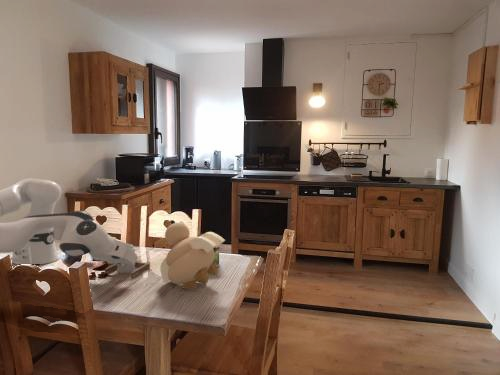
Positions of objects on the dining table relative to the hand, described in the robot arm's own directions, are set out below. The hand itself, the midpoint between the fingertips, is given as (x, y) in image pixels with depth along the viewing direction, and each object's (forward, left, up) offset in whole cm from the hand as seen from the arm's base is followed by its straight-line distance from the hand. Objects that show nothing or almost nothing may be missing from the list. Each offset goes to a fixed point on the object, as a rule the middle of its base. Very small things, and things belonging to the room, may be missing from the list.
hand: (121, 264), depth 162 cm
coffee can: (+30, +25, -5) cm, 39 cm away
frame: (0, +4, -5) cm, 6 cm away
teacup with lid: (-14, +16, -5) cm, 22 cm away
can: (-1, +4, -5) cm, 7 cm away
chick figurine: (+33, -2, -5) cm, 33 cm away
